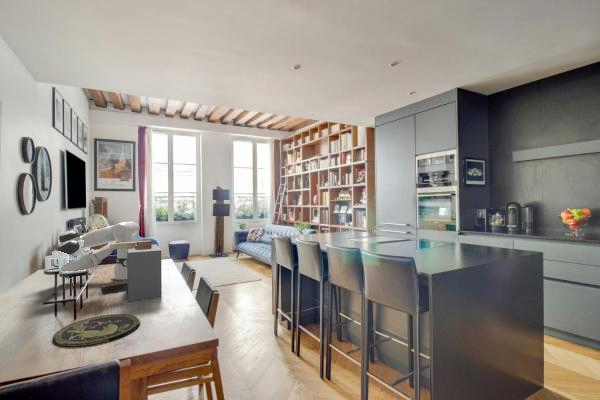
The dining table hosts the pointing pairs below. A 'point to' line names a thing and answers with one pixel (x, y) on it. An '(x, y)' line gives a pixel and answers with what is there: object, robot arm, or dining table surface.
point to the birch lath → (125, 245)
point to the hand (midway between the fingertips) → (119, 243)
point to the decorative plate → (96, 330)
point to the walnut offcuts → (144, 244)
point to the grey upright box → (144, 273)
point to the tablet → (114, 289)
